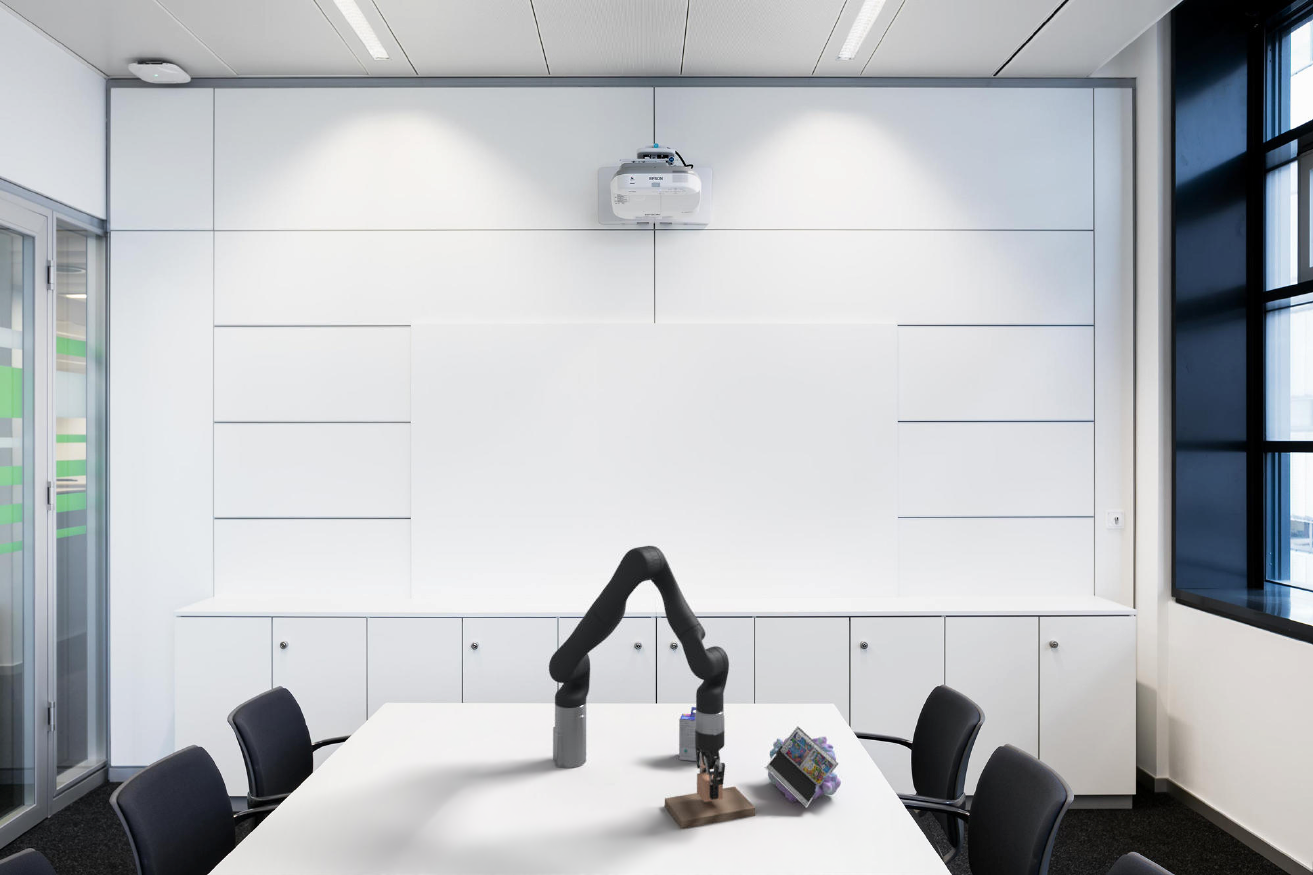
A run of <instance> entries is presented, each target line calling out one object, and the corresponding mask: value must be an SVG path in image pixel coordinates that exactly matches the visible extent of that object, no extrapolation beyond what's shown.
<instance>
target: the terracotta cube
mask: <svg viewBox="0 0 1313 875" xmlns="http://www.w3.org/2000/svg"><path fill="white" fill-rule="evenodd" d="M712 778H713V775H712ZM723 788H724V784H723V785H719V797H718V799H713V800H719V799H723ZM696 793H697V794H698V795H699V796H700V797H701V798H702V800H703V801H704V802H708V801H713V800H711V799H710V782H709V775H707V773H706V772H704V773H700V772H698V773H696Z"/></svg>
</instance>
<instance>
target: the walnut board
mask: <svg viewBox="0 0 1313 875" xmlns="http://www.w3.org/2000/svg"><path fill="white" fill-rule="evenodd" d="M664 807H665V809H666V810H667V811H668V813H669V814H670V816H671V817H672V818H673V819H674V821H675V822H676V824H677V825H678V826H679V828H680V829H681V830H684V829H691V828H695V827H701V826H706V825H707V826H708V825H711V824H717V823H722V822H727V821H734V820H738V819H745V818H750V817H755V816H756V807H755V806H754V805H753V804H752V803H751V801H749V800H748V799H747V797H746V796H745V795H744V794H743V793H742V792H741V791H740V790H739V789H738V788H737V787H736V786H728V787H723V799H719V800H713V801H708V802H704V801H703V800H702V798H701V797H700V796H699V795H698V794H697V792H694V793H688V794H684V795H676V796H670V797H667V798H666V797H665V798H664Z"/></svg>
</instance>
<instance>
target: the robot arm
mask: <svg viewBox="0 0 1313 875" xmlns="http://www.w3.org/2000/svg"><path fill="white" fill-rule="evenodd" d="M646 581H647V582H648V581H651V582H652V583H653V584H654V586H655V587H656V588H657V590H658V592H659V593H660V596H661V598H662V602H663V608H664V612H665V616H666V620H667V622H668V624H669V627H670V629H671V630H672V631H673V633H674V635H675V636H676V638H677V639H678V641H679V642H680V644H681V646H682V650H683V652H684V655H685V659H686V661H687V664H688V666H689V669H690V671H691V672H692V674H694V675H695V677H697V678H698V679H699V680H702V683H700V685H699V686H698V687H697V689H696V693H695V700H696V701H695V704H696V705H695V707H696V710H695V713H696V715H695V749H696V761H695V762H696V768H697V769H698V770H699V773H704V772H706V773H707V775H709V782H710V799H711V800H713V799H718V797H719V785H723V786H724V781H725V780H724V779H725V771H726V763H725V762H721V756H720V750H721V749H723V748H724V747H725V724H726V723H725V713H724V712H725V711H724V709H725V708H724V693H725V689H726V685H727V681H728V680H727V679H728V675H729V668H730V661H729V657H728V654H727V652H726V651H725V650H724V648H722V647H721V646H717V645H715V646H710V647H708V648H706V647H705V646H704V643H703V640H704V639H705V637H706V630H705V629H704V627H703V625H702V624H701V622H700V621H699V619H698V618H697V617H696V615H695V613H694V612H693V610H692V608H691V607H690V606H689V603H688V602H687V600H686V598H685V597H684V595H683V593H682V590H681V588H680V586H679V584H678V582H677V580H676V578H675V576H674V574H673V571H672V569H671V567H670V564H669V563H668V560H667V558H666V556H665V554H664V553H663V552H662V550H661V549H660V548H659V547H657V546H655V545H644V546H638V547H634V548H631V549H630V550H628V551H627V552H626V553H625V554H624V556H623V557H622V559H621V561H620V562H619V564H618V566H617V567H616V570H615V571H614V573H613V575H612V577H611V578H610V580H609V582H608V583H607V584H606V586H604V588H603V590H602V591H601V592H600V594H599V595H598V596H597V598H596V599H595V601H593V603H592V604H591V606H590V607H589V609H587V611H586V613H585V614H584V615H583V617H582V619H581V620H580V621H579V623H578V624H577V626H575V628H574V630H573V632H572V633H571V634H570V636H569V637H568V638H567V639H566V641H564V643H563V644H562V645H561V646H560V647H559V648H557V650H556V651H554V653H553V654H552V656H551V658H550V659H549V663H548V671H549V672H548V673H549V675H550V677H551V679H552V680H553V681H555V683H560V684H562V685H561V687H560V688H559V689H558V690H557V691H556V692H555V695H554V727H553V728H552V760H553V762H554V763H555V765H556V767H557V768H576V767H577V768H578V767H580V766H583V765H584V764H585V763H586V761H587V698H588V695H589V692H590V684H591V682H590V679H591V661H590V660H591V659H590V655H589V653H590V652H591V651H592V650H594V649H595V648H596V647H598V646H599V645H600V644H601V643H602V642H604V641H605V640H607V638H608V637H609V636H611V635H612V633H613V632H614V631H615V629H616V628H617V627H618V626H619V624H620V623H621V622H622V620H623V618H624V616H625V613H626V606H627V601H628V598H629V597H630V595H631V594H632V593H633V592H634V590H635V589H636V588H637V587H638V586H639V585H640V584H641V583H644V582H646ZM712 775H713V778H712Z"/></svg>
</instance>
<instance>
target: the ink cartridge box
mask: <svg viewBox="0 0 1313 875" xmlns="http://www.w3.org/2000/svg"><path fill="white" fill-rule="evenodd" d="M694 711H696V706H691V710H690V713H682V714H681V716H680V718H679V720H678V721H679V724H678V727H679V728H678V729H679V730H678V732H679V733H678V737H679V738H678V740H679V741H678V742H679V744H678V746H679V748H678V751H679V752H678V760H681V761H690V762H691V761H692V762H697V761H696V749H695V715H696V712H694Z"/></svg>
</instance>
